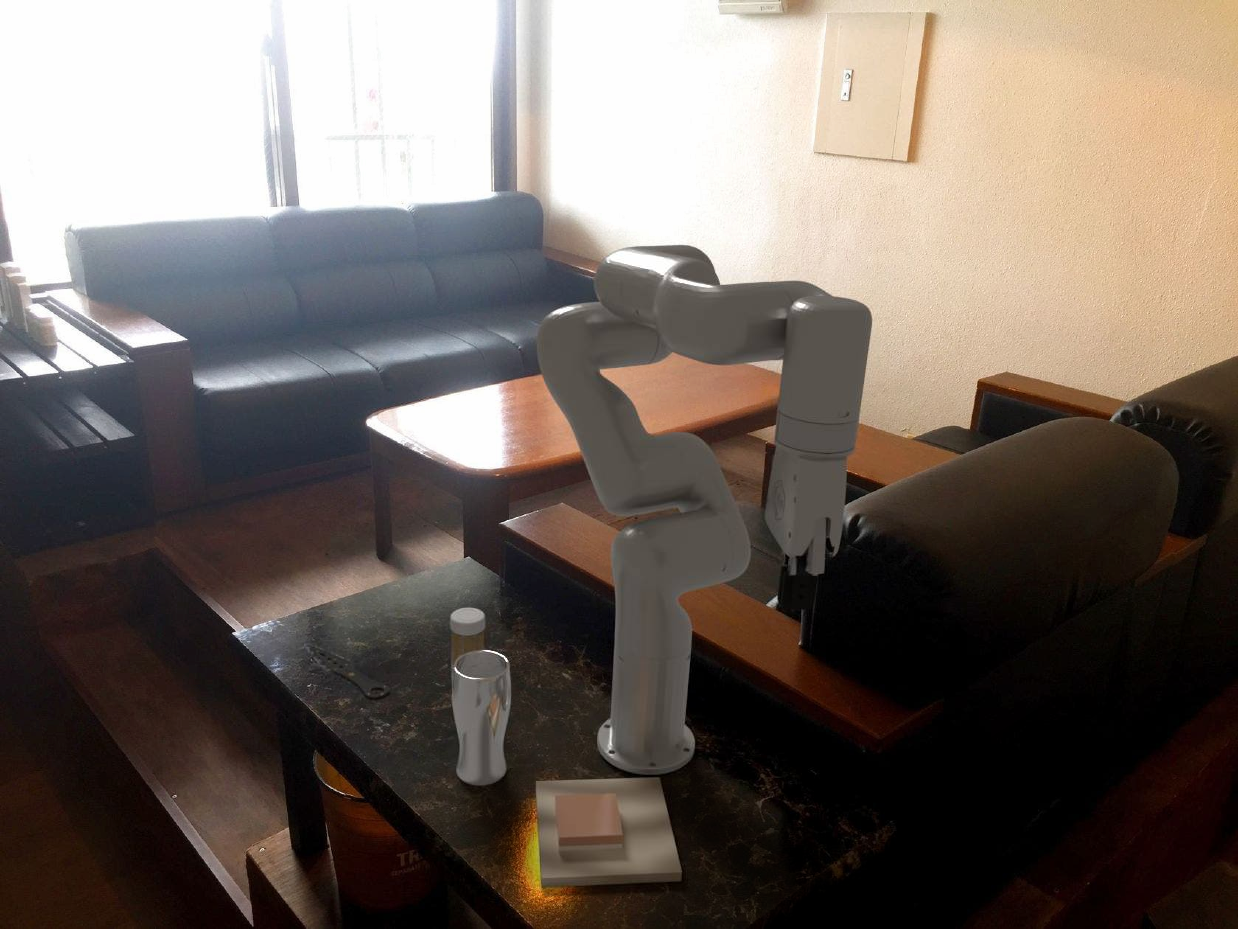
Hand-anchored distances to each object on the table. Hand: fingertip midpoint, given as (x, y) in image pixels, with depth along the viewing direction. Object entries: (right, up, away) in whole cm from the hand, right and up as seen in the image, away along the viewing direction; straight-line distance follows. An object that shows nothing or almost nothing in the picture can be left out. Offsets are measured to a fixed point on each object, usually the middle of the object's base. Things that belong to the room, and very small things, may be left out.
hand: (794, 605), depth 102 cm
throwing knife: (-57, -15, +44) cm, 74 cm away
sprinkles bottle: (-38, -19, +38) cm, 57 cm away
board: (-19, -28, +15) cm, 37 cm away
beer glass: (-34, -24, +24) cm, 48 cm away
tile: (-21, -27, +10) cm, 36 cm away
